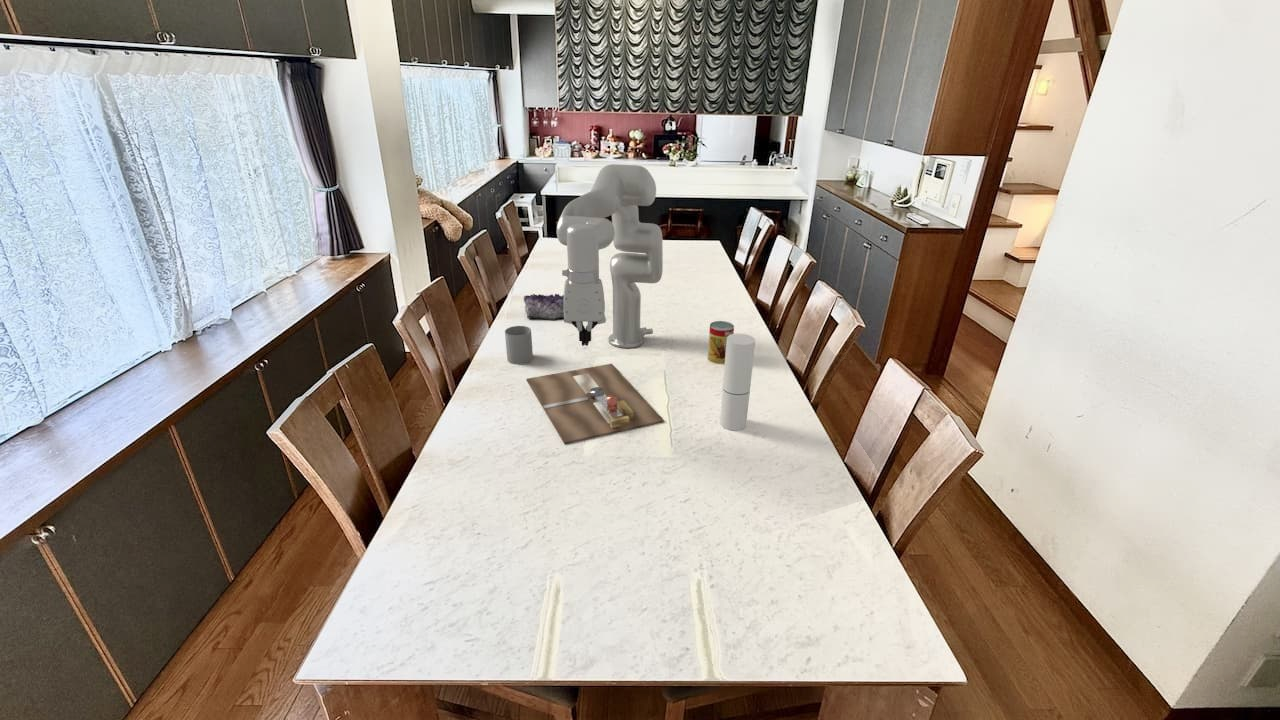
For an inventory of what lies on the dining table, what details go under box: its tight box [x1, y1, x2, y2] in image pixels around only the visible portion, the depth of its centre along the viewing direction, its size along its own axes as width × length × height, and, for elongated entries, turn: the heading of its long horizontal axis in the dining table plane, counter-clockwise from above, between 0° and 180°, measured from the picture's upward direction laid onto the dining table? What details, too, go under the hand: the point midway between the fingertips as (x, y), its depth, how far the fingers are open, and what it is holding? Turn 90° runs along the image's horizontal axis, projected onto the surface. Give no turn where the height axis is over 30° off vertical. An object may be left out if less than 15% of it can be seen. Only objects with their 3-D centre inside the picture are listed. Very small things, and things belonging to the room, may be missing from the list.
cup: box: [504, 325, 534, 365], centre depth 195 cm, size 8×8×10 cm
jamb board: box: [526, 363, 664, 445], centre depth 172 cm, size 28×38×3 cm
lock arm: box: [590, 387, 623, 419], centre depth 167 cm, size 17×4×5 cm, turn 25°
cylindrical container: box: [719, 333, 756, 431], centre depth 157 cm, size 7×7×25 cm
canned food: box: [707, 320, 735, 365], centre depth 197 cm, size 8×8×12 cm
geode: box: [523, 293, 564, 321], centre depth 231 cm, size 20×12×10 cm, turn 90°
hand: (585, 343), depth 155 cm, fingers closed
